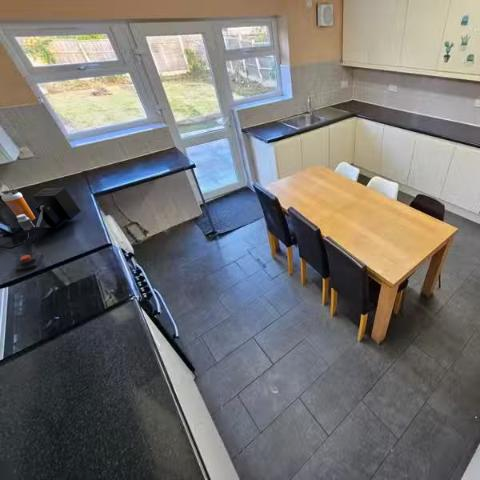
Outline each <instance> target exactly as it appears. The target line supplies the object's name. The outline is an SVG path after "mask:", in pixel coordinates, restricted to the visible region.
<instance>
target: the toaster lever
mask: <svg viewBox="0 0 480 480" xmlns="http://www.w3.org/2000/svg"><path fill="white" fill-rule="evenodd" d="M42 207H43V206H40V209H39V210H41V212H40V214H39V215H38V219H37V222H36V224H35V227H31V229H30V230H31V231H38V230H44V229H43V228H44V226H41V223H42V221H43V218H42V217H43V214H44V210H43V209H42Z"/></svg>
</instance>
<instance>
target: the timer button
mask: <svg viewBox="0 0 480 480" xmlns="http://www.w3.org/2000/svg"><path fill="white" fill-rule="evenodd" d="M30 255H31V254H25V255H23V256H21V257H20V259H21V260H22V261H23V262H25V261H28V260H30V259H31V257H30ZM20 259H19V260H20Z"/></svg>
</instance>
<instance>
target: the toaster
mask: <svg viewBox="0 0 480 480" xmlns="http://www.w3.org/2000/svg"><path fill="white" fill-rule="evenodd" d="M32 199H34V201H35V202H36V203H37V204H38V205H40V204H42V205H43V206H45V205H46V204H49V206H50V207H51V208H52V209H53V211H54V212H55V213H56V215H57V216H58V217H59V219H62V218H67V221H69V220H70V221H71V220H73V219H74V218H75V217H77V215H79V213H81V211H82V210H81V209H80V207H79V206H78V204H77V203H76V202H75V200H74V199H73V198H72V196H71V194H70V193H69V191H68V190H67V189H66V187H51V188H50V187H49V188H47V187H46V188H43V189H41V190H40V191H38V192H37V193H35V194H33V195H32Z"/></svg>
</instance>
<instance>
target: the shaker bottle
mask: <svg viewBox="0 0 480 480" xmlns="http://www.w3.org/2000/svg"><path fill="white" fill-rule="evenodd" d="M1 194H2V195H1V200H2V201H3V202H4V204H6V205H7V206H8V208H9V209H10V210H11V211H12V213H13V214H14V215H15V216H18V215H22V214H25V215H26V217H28V218H29V219H30V220H31V222H33V221H34V220H35V219H36V217H35V215H34V213H33V211H32V210H31V208H30V207H29V204H28V203H27V201H26V200H25V198H24V197H23V194H22V192H19V191H18V190H16V189H14V190H4V191H1Z"/></svg>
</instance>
